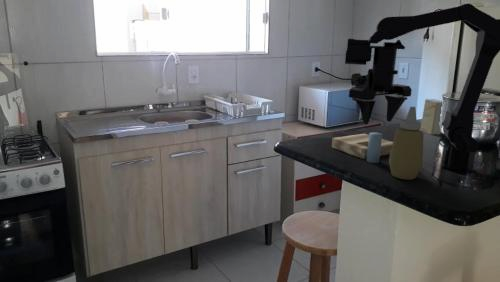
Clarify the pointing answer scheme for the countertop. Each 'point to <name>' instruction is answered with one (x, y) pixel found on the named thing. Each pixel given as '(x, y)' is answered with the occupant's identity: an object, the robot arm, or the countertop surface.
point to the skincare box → (431, 117)
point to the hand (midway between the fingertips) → (377, 122)
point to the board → (359, 145)
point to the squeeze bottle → (407, 148)
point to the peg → (374, 147)
